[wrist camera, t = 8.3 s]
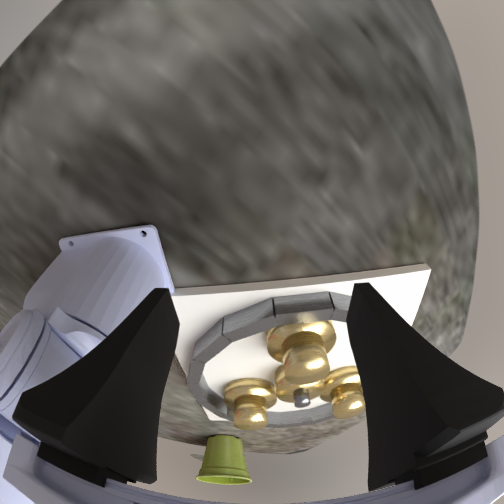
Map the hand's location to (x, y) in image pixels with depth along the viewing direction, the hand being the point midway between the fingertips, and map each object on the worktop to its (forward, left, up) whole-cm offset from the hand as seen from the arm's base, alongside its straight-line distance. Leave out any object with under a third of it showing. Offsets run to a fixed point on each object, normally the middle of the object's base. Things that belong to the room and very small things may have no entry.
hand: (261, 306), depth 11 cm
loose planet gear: (+3, -11, -8) cm, 15 cm away
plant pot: (-9, -42, -10) cm, 44 cm away
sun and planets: (+3, -20, -8) cm, 22 cm away
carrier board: (+3, -18, -9) cm, 21 cm away
